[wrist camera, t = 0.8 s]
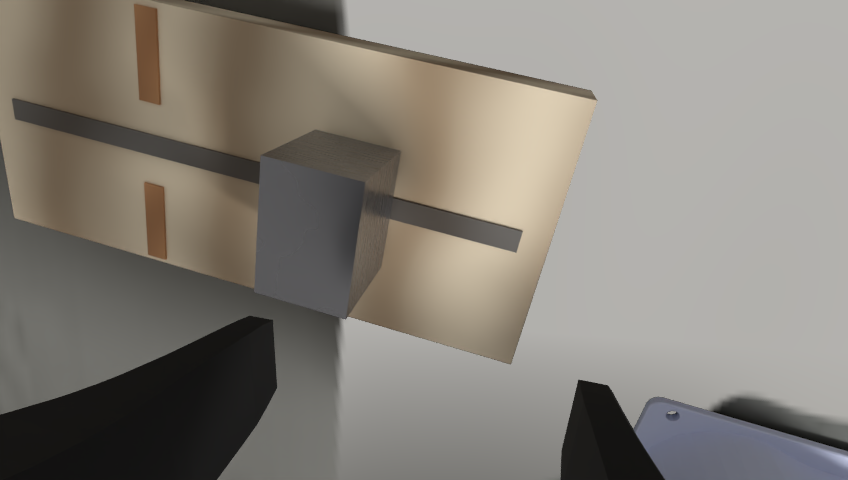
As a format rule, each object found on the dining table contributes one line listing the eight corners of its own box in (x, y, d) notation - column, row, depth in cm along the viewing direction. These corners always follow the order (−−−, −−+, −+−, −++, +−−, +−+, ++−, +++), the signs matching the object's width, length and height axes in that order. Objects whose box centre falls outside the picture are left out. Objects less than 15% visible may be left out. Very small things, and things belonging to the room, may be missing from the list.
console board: (591, 90, 17) (597, 101, 15) (514, 329, 21) (510, 366, 19) (30, -34, 20) (-35, -41, 18) (62, 200, 24) (12, 218, 22)
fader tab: (401, 150, 17) (365, 182, 13) (381, 267, 18) (345, 319, 15) (315, 129, 17) (260, 155, 14) (304, 245, 19) (253, 292, 16)
